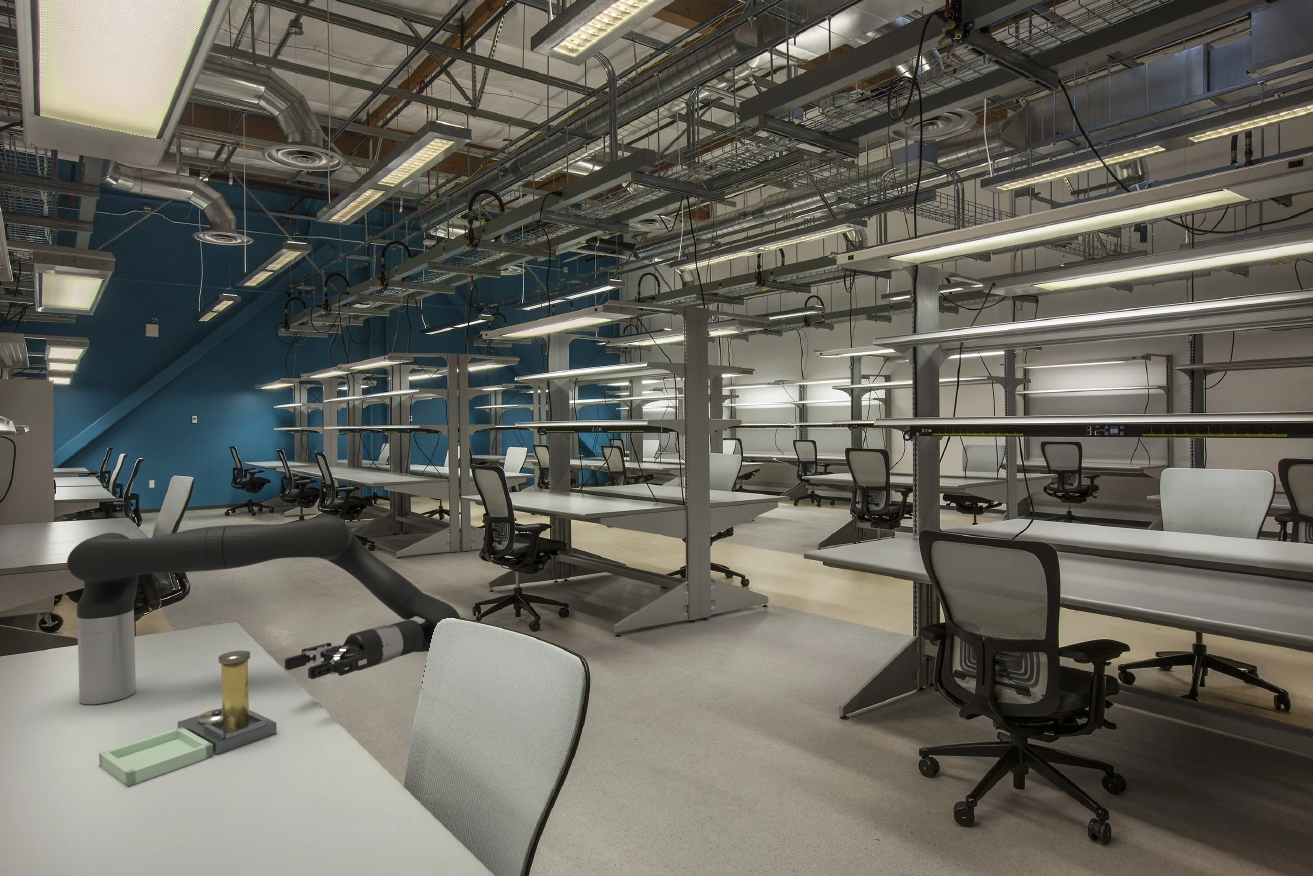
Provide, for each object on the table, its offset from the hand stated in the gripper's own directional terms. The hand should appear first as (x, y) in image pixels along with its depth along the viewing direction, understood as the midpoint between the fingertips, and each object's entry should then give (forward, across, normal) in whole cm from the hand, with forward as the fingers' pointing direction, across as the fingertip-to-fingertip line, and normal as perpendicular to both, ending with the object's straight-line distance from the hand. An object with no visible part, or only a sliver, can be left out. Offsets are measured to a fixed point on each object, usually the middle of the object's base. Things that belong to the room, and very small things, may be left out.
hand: (297, 669), depth 135 cm
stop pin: (+11, 0, +7) cm, 13 cm away
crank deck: (+11, -4, +9) cm, 15 cm away
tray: (+23, -2, +9) cm, 24 cm away
